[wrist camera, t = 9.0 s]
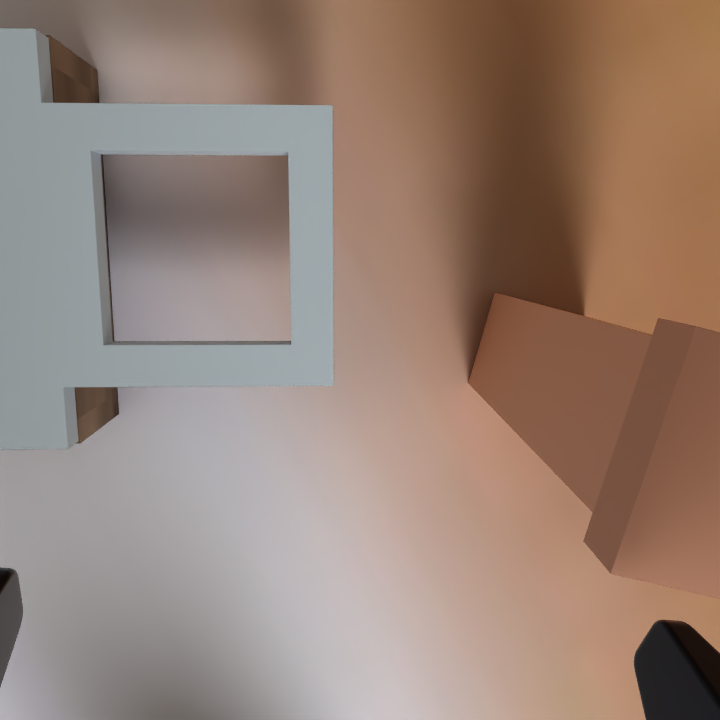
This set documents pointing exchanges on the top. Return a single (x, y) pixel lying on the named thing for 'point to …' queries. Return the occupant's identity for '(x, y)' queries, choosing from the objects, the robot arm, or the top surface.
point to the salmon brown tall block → (618, 430)
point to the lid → (89, 251)
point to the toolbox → (81, 86)
